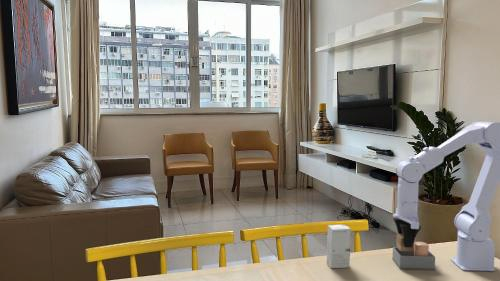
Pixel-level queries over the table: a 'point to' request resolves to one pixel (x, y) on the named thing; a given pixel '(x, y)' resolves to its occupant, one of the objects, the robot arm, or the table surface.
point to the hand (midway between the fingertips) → (405, 244)
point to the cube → (402, 244)
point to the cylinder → (421, 249)
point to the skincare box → (338, 246)
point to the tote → (413, 260)
